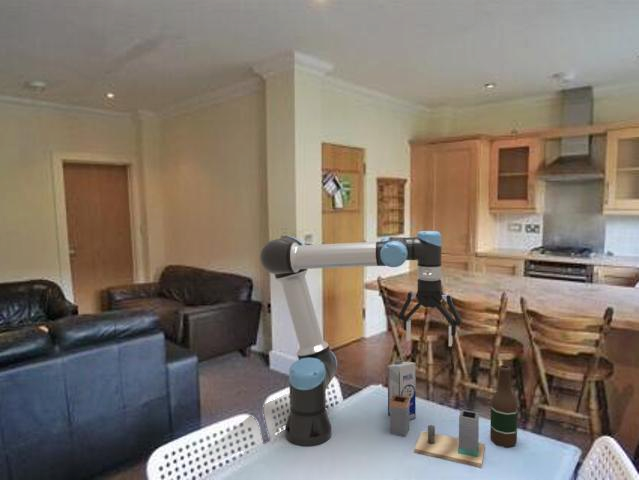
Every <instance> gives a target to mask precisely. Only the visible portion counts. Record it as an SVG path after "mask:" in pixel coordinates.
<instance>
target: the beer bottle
mask: <svg viewBox="0 0 639 480" xmlns="http://www.w3.org/2000/svg"><path fill="white" fill-rule="evenodd" d="M498 371H499V372H498V380H497V381H498V382H497V390H496V391H495V393H494V394H493V396H492V398H491V402H490V428H489V429H490V441H491V442H492V443H493V444H495V446H499V447H502V448H507V449H509V448H513V447H515V446H516V444H517V440H518V413H519V412H518V402H517V398H516V396H515V394H514V393H513V390H512V377H511V372H512V368H511V367H510V366H509V365H506V364H503V365H499V366H498Z"/></svg>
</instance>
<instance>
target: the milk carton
mask: <svg viewBox="0 0 639 480" xmlns="http://www.w3.org/2000/svg"><path fill="white" fill-rule="evenodd" d="M416 364H417V363H416V362H412V361H403V360H402V359H397V360H393V364H390V365H387V415H388V416H389V417H390V405H389V401H390V400H391V398H392V397H393V395H400V396H406V397H410V403H409V421H411V420H414V419H416V388H417V387H416V369H417V368H416Z"/></svg>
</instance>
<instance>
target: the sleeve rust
mask: <svg viewBox="0 0 639 480" xmlns="http://www.w3.org/2000/svg"><path fill="white" fill-rule="evenodd" d="M409 403H410V397H406V396H400V395H393V397H392V398H391V400H390V401H389V405H390V416H389V417H390V419H389V420H390V421H389V422H390V424H389V425H390V428H389V429H390V434H391V435H393V436H399V437H404V438H406V437H407V435H408V433H409V431H410V420H409Z"/></svg>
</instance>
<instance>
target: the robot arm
mask: <svg viewBox="0 0 639 480" xmlns="http://www.w3.org/2000/svg"><path fill="white" fill-rule="evenodd" d="M442 243H443V242H442V234H441V233H440V232H439V231H435V230H422V231H418V232H417V234H416V236H415V237H403V236H402V237H396V236H388V237H382V238H381V239H380V241H365V242H363V241H362V242H360V241H359V242H344V243H343V242H342V243H326V244H325V243H323V244H303V242H302V240H299V238H296V237H293V236H283V237H280V238H276V239H275V238H274V239H272V240H269V241H268V242H266V243H265V244H264V245H263V246H262V248H261V250H260V255H259V261H260V264H261V265H262V268H264V269H265V271H266V272H267V273H270V274H274V276H275V280H277V281H278V282H280V283H281V285H282V290H283V293H284V297H285V300H286V303H287V307H288V311H289V314H290V317H291V318H290V319H291V321H292V326H293V329H294V331H295V335H296V339H297V342H298V346H299V347H298V350H297V352H296V356H297V359H298V360H297V359H296V360H295V361H294V362H292V364H291V365H290V367H289V372H288V383H289V414H288V417H287V421H286V424H285V427H284V428H285V429H284V431H285V433H284V434H285V435H284V436H285V438H286V440H287V441H288V442H290V443H291V444H294V445H298V446H301V447H313V446H316V445H321V444H323V443H325V442H327V441H328V440H329V439H330V438H331V436H332V424H331V421H330V418H329V416H328V412H327V407H326V406H327V403H326V402H327V401H326V400H327V399H326V398H327V397H326V395H327V394H326V393H327V392H326V391H327V388H328V387H329V385H330V384H331V382H332V381H333V379H334V377H335V376H336V374H337V369H338V360H337V357H336V354H335V353H334V352H333V351H332V350H331V349H330V344H329V343H328V342H327V341H325V340H323V336H322V332H321V329H320V326H319V325H320V324H319V322H318V318H317V314H316V312H315V308H314V303H313V301H312V296H311V293H310V290H309V285H308V283H307V282H308V281H307V279H306V274H307V272H308V270H309V269H311V270H312V269H334V268H336V269H337V268H339V269H341V268H358V267H360V268H363V267H388V268H398V267H401V266H402V265H403V264H405V262H406V261H417V277H418V279H417V292H413V291H408V293H407V297H406V298H407V299H406V300H405V302H404V304H403V306H402V307H401V310H400V312H399V313H398V316H397V318H398V319H399V320H402V321H403V331H405V332H406V342H410V340H411V339H412V334H411V333H412V331H411V329H412V328H411V327H412V326H411V325H412V324H411V323H412V321H411V319H410V318H411V317H412V316H413V314H414V313H416V311H417V310H418V309H419V308H420V307H421V306H422V307H424V308H431V309H434V308H436V310H439V312H440V313H441V314H442V316H443V317H444V318H445V319H446V321H447V322H448V323H449V325H448V347H452V345H453V336H454V337H455V335H456V334H457V326H459V325H461V324H462V323H463V320H462V318H461V316H460V313H459V312H458V310H457V308H456V306H455V304H454V302H453V299H452V298H453V296H452V294H451V293H448V294H442V280H441V278H442V250H443V249H442V245H443V244H442ZM415 298H416V299H417V300H418V302H417V303H416V305H414V306H413V308H412V309H410V311H409V312H408V313H407V314H406V312H407V310H408V307H409V306H410V304H411V302H412V300H414V299H415ZM442 300H444V302H445V303H447V306H448V309H449V310H450V311H451V314H452V315H453V316H452V315H451V314H450V313H449V311H448V310H447V309H446V308H445V307H444V305H443V304H442V302H441V301H442ZM405 314H406V315H405Z"/></svg>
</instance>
